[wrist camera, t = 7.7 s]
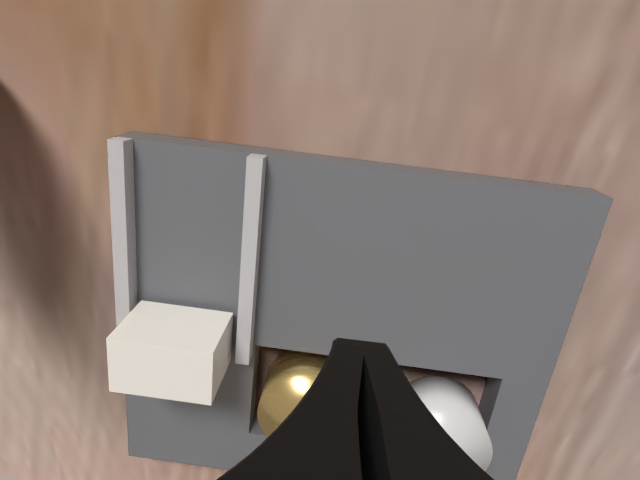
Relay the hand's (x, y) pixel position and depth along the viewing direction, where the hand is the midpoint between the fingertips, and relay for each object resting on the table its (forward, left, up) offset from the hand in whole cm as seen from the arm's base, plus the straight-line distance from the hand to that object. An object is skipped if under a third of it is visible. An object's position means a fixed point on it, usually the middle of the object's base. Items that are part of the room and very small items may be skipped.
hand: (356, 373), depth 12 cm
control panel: (0, +4, -9) cm, 10 cm away
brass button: (+1, +7, -9) cm, 11 cm away
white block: (+7, +4, -7) cm, 11 cm away
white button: (-5, +7, -8) cm, 12 cm away
